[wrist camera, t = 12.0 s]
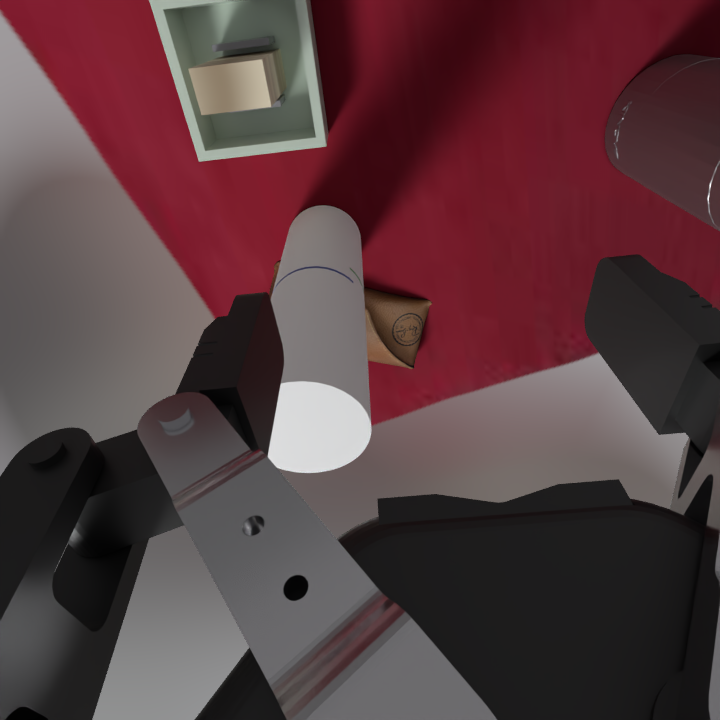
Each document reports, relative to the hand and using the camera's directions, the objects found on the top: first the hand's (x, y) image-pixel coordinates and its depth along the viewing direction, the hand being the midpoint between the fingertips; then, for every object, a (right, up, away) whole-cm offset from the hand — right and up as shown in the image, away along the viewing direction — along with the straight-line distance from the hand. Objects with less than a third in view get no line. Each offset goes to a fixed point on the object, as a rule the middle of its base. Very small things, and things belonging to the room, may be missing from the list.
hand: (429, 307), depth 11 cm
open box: (-10, +21, +24) cm, 33 cm away
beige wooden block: (-10, +21, +23) cm, 33 cm away
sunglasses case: (-3, +4, +38) cm, 39 cm away
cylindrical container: (-5, +10, +33) cm, 35 cm away
